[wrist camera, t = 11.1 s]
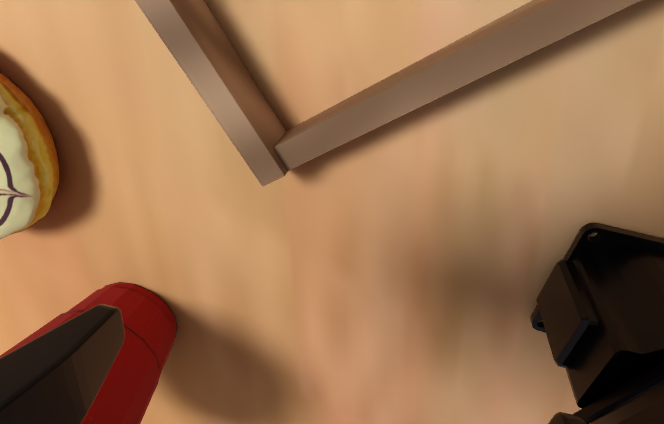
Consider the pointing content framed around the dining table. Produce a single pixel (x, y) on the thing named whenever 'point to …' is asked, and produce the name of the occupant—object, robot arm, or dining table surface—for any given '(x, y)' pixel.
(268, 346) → the dining table surface
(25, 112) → the decorated donut
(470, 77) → the brown flat frame
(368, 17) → the dining table surface
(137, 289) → the plastic cup
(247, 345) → the dining table surface
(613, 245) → the robot arm
